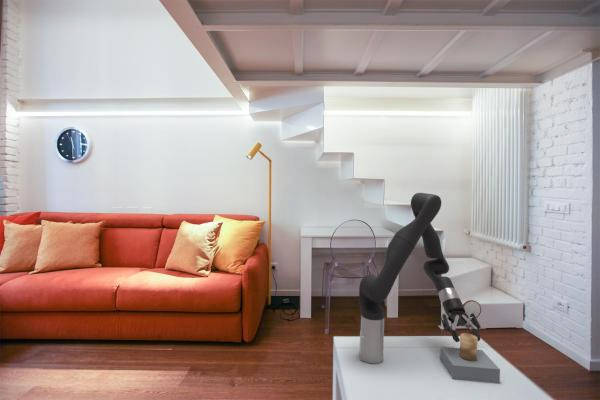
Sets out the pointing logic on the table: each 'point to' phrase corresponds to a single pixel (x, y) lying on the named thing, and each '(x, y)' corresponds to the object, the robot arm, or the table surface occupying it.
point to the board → (469, 366)
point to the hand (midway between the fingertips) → (468, 341)
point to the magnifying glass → (472, 309)
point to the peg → (468, 347)
